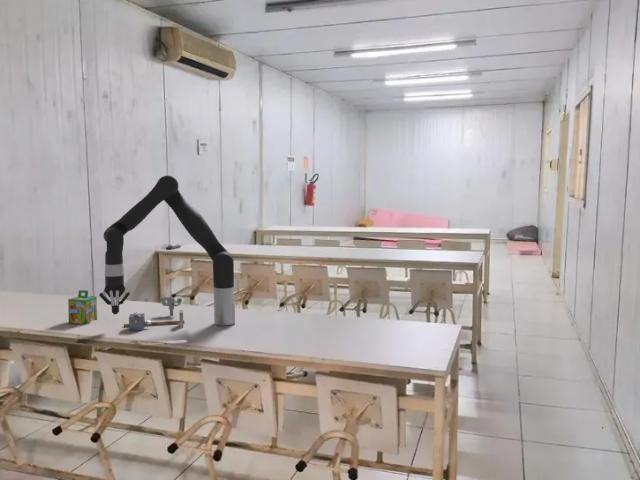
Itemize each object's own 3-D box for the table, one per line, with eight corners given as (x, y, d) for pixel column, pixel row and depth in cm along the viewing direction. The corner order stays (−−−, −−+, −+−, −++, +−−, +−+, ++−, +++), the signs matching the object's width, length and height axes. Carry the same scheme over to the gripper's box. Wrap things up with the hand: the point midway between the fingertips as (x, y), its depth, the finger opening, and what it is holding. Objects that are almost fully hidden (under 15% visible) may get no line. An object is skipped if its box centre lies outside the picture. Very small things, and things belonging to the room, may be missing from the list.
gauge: (152, 326, 235) (151, 310, 234) (150, 331, 227) (150, 315, 226) (130, 327, 233) (130, 311, 232) (128, 332, 225) (128, 316, 224)
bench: (184, 325, 240) (184, 308, 240) (184, 331, 231) (184, 313, 230) (124, 329, 234) (123, 311, 233) (121, 335, 224) (120, 317, 224)
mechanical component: (180, 319, 252) (179, 298, 251) (160, 318, 254) (159, 297, 253) (182, 317, 255) (182, 297, 254) (163, 316, 257) (162, 296, 256)
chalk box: (68, 323, 244) (66, 292, 242) (80, 319, 253) (79, 288, 251) (86, 324, 242) (84, 293, 241) (98, 319, 251) (96, 289, 250)
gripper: (131, 272, 231) (132, 311, 233) (99, 273, 228) (100, 312, 230) (129, 275, 224) (130, 315, 226) (96, 276, 221) (97, 316, 223)
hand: (115, 313), depth 228 cm, fingers closed
